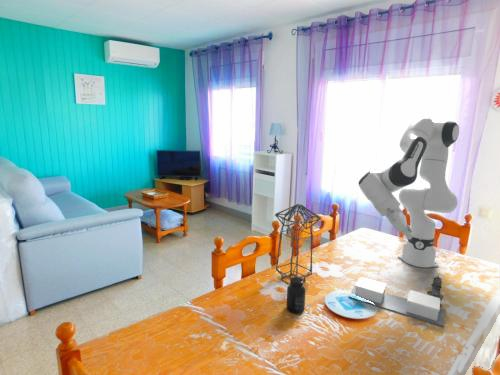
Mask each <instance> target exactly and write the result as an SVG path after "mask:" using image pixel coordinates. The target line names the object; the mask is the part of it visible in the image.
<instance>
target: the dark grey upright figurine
mask: <svg viewBox="0 0 500 375" xmlns="http://www.w3.org/2000/svg"><path fill="white" fill-rule="evenodd" d="M442 282H443V279H442V278H441V277H440V275H439V274H438V275H437V276H434V277H433V278H432V283H431V284H430V285H431V289H430V290H428V291H427V292H426V295H430V296H433V297H437V298H440V307H441V306H442V303H441V302H442V300H443V299H444V295H443V294H442V293H441V289H442V288H443V287H442Z"/></svg>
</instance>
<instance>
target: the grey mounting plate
mask: <svg viewBox="0 0 500 375" xmlns="http://www.w3.org/2000/svg"><path fill="white" fill-rule="evenodd" d="M352 288H353V289H352V290H351V292H350V293H352V294H355V295H356V296H359V297H361V298H364V299H366V300H369V301H371V302H373V303H374V304H375V305H376V306H375V307H378V308H381V309H384V310H388V311H389V312H393V313H396V314H400V315H402V316H406V317H410V318H413V319H416V320H419V321H422V322H426V323H430V324H432V325H435V326H438V327H442V328H444V318H445V316H444V315H445V309H443V308H441V306H440V303H441V302H440V298H437V297H433V296H430V295H427V293H426V294H425V293H423V292H418V291H414V290H412V289H411V290H409V293H408V296H407V298H406V297H402V296H400V295H399V296H398V295H395V294H391V293H388V292H386V288H387V282H381V281H377V280H375V279H370V278H366V277H363V276H360V277H359V278H358V280H357V282H356V283H355V286H354V287H352Z"/></svg>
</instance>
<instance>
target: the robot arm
mask: <svg viewBox="0 0 500 375" xmlns="http://www.w3.org/2000/svg"><path fill="white" fill-rule="evenodd" d="M459 135H460V126H459V125H458V123H457V122H455V121H450V120H446V121H443V120H432V119H431V118H429V117H425V116H422V117H417V119H415V120H414V121H413V122H412V123H411V124H409V126H408V127H407V129H406V130H405V132H404V133H403V134H402V136H401V139H400V142H399V147H400V149H401V151H402V152H403V153H404V155H403V157H402V158H401V159H399V160H397V161H396V162H394V163H393V164H392V165H391V166H389V167H388V168H387V169H385V170H381V171H368V172H366V173H365V174H364V175H363V176H362V177H361V178H360V179H359V180H358V186H359V189H360V190H361V192H362V193H363V195H364V196H365V197H366V199H367V200H369V202H370V203H372V206H373V207H374V209H375V210H376V212H378V215H380V217H382V218H383V217H385V218H386V219H387V220H388V221H389V223H390V224H391V225H392V227H393V228H394V230H395V231H396V232H397V233H398V234H400V233H402V235H404V236H405V237H406V238H407V241H406V242H405V243H403V244H402V245H403V246H402V250H401V251H402V252H400V253H399V254H398V255H397V258H398V259H400V260H402V261H404V263H406V264H408V265H411V266H414V267H417V268H432V267H433V268H437V267H439V262H438V260H437V259H436V257H437V256H436V254H437V250H436V248H435V247H434V245H435V233H436V223H435V221H434V219H433V218H431V217H429V215H427V214H426V212H425V211H429V212H434V213H440V214H441V213H442V214H444V213H445V214H450V213H452V212H454V211H455V210H456V208H457V206H458V198H457V196H456V195H455V193H454V192H453V191H451V189H450V188H449V186H448V184H447V182H446V181H447V180H446V173H447V172H446V171H447V165H448V160H449V147H450V146H451V145H453V144H454V143H455V142H456V141H457V140H458V138H459ZM419 164H420V168H419ZM418 168H419V172H418ZM418 174H419V177H420V178H421V179H423V180H424V181H426V182H427V183H428V184H429V185H430V186H429V187H422V186H421V187H420V186H409V185H412V184H414V182H416V179H417V177H418ZM399 190H400V191H399ZM397 191H399V193H398V199H399V201H398V199H397V198H396V197H395V196H394V194H393V193H394V192H397ZM401 205H402V206H403V207H404V208H405V209H406V211H407V212H408V215H409V218H410V223H409V224H410V225H409V224H408V223H407V217H406V215H405V213H404V212H403V210H402V209H401V208H400V206H401Z"/></svg>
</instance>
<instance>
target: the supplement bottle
mask: <svg viewBox="0 0 500 375" xmlns="http://www.w3.org/2000/svg"><path fill="white" fill-rule="evenodd" d="M299 277H300V276H299ZM299 277H296V276H293V277H291V279H290V278H289V279H290V281H289V284H288V286H287V288H286V310H287V311H288V312H289V313H290V314H293V315H294V314H295V315H300V314H302V313H303V312H305V310H306V308H305V307H306V291H307V290H306V287H305V285H304V282H303V281H304V280H303V279H304V278H303V277H301V278H299ZM302 278H303V279H302Z"/></svg>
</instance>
